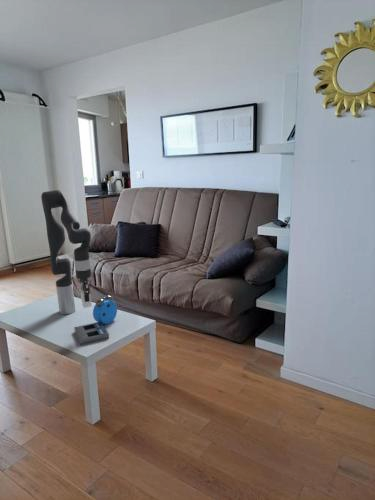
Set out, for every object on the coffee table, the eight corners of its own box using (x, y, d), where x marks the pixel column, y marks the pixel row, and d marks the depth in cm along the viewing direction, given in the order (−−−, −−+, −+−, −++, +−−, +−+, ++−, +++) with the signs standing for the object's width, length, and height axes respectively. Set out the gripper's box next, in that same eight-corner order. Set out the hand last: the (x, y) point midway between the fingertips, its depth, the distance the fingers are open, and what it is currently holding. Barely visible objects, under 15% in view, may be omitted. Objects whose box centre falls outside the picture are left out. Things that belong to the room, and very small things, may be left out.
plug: (82, 305, 180) (80, 289, 178) (90, 303, 181) (88, 287, 179) (83, 307, 176) (82, 291, 174) (91, 306, 178) (90, 289, 176)
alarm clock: (110, 317, 200) (108, 292, 197) (118, 319, 197) (116, 294, 194) (93, 325, 190) (91, 300, 186) (101, 328, 186) (99, 302, 183)
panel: (74, 332, 182) (74, 327, 182) (101, 326, 189) (100, 321, 188) (80, 346, 168) (80, 340, 167) (109, 339, 174) (108, 333, 173)
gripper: (73, 266, 179) (76, 297, 183) (77, 272, 167) (81, 306, 170) (87, 264, 182) (90, 294, 186) (93, 270, 170) (96, 303, 174)
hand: (86, 299), depth 178 cm, fingers closed on plug, 4 cm apart
